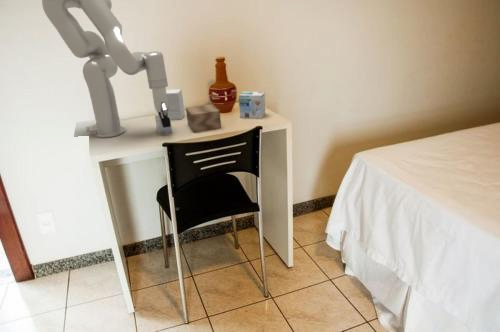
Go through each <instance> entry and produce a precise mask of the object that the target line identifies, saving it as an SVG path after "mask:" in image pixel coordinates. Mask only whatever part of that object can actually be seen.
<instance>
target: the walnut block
mask: <svg viewBox="0 0 500 332" xmlns="http://www.w3.org/2000/svg"><path fill="white" fill-rule="evenodd" d="M220 111H221V110H220V109H218V108H217V107H216V106H215V105H214V104H213V103H210V104H203V105H194V106H188V107H185V114H186V118H187V126H188V127H189V129H190V130H191V132H192V133H194V134H195V133H202V132H209V131H213V130H214V131H215V130H219V129H222V123H221V122H222V120H221V112H220Z"/></svg>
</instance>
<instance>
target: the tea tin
mask: <svg viewBox="0 0 500 332" xmlns="http://www.w3.org/2000/svg"><path fill="white" fill-rule="evenodd" d="M168 115H169V114H168ZM161 118H162V116H161V115H159V114H157V115H154V119H155V125H156V131H157V134H158V135H159V136H162V135H168V134H173V128H172V120H171V119H170V124H171V126H170V127H165V128H163V125H162V119H161ZM169 118H170V116H169Z"/></svg>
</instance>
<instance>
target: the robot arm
mask: <svg viewBox="0 0 500 332" xmlns="http://www.w3.org/2000/svg"><path fill="white" fill-rule="evenodd" d="M41 3H42V4H41V5H42V9H43V12H44V13H45V15H46V17H47V19H48V20H49V22H51V24H52V25H53V27H54V28H55V30H57V33H58V34H59V36H60V38H62V40H63V42H64V43H65V44H66V46H67V48H68V49H69V50H70V52H71V53H72V54H73V56H75V57H76V58H78V59H86V58H89V59H88V60H87V61H86V62H85V63H84V65H83V66H82V75H83V79H84V81H85V83H86V86H87V90H88V93H89V96H90V101H91V105H92V111H93V114H94V119H95V124H94V125H92V126H91V125H89V126H85V130H86V132H89V133H92V132H94V136H95V137H96V138H102V139H104V138H113V137H117V136H120V135H123V134H124V133H125V132H126V128H125V126H122V125H121V121H120V120H121V119H120V115H119V111H118V105H117V101H116V95H115V90H114V87H113V85H112V83H111V80H110V78H112V77H115V75H116V74H117V72H118V68H119V69H120V70H121V71H122V72H123V73H125V75H128V76H133V75H137V74H138V73H141V72H142V71H145V72H146V77H147V84H148V87H149V89H150V90H152V91H151V93H152V99H153V104H154V105H153V106H154V109H155V112H156V113H157V115H161V116H162V118H161V119H162V125H163V128H165V127H170V126H172V123H171V124H170V118H169V115H168V111H169V107H168V99H167V93H166V90H167V89H166V88H167V87H169V83H168V77H167V73H166V67H165V60H164V59H165V58H164V54H163V52H161V51H158V50H157V51H156V50H155V51H148V52H147V51H146V52H143V51H134V52H132V53H131V51H130V50H129V49H128V47H127V45H126V44H125V42H124V40H123V35H122V33H123V26H122V24H121V22H120V21H119V20H118V18H117V17H116V15H115V14H114V13H113V11H112V8H113V7H112V6H113V4H112V0H41ZM71 8H75V9H76V8H77V9H80V10H82V11H83V13H84V14H85V16H86V17H87V18H88V19H89V20H90V22H91V23H92V25H93V26H94V28H96V30H97V31H98V33H99V34H100V35H99V34H98V33H96V32H94V31H90V30H84V29H83V27H82V26H81V25H80V23H79V21H78V20H77V18H76V17H75V16H74V15H73V14H72V13H71V12H70V11H69V10H68V9H71ZM101 36H102V37H101ZM102 38H103V39H102Z"/></svg>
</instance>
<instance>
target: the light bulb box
mask: <svg viewBox="0 0 500 332" xmlns="http://www.w3.org/2000/svg"><path fill="white" fill-rule="evenodd" d="M265 95H266V93H265V91H242V92H240V93H239V94H238V103H239V104H238V106H239V107H238V108H239V118H240V119H241V118H242V119H243V118H244V119H257V120H258V119H263V118H264V116H266V98H265V97H266V96H265Z"/></svg>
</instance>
